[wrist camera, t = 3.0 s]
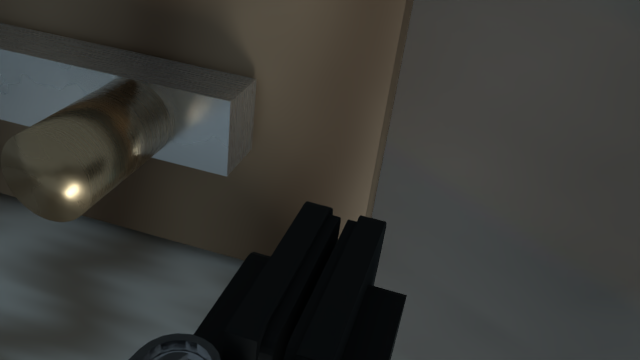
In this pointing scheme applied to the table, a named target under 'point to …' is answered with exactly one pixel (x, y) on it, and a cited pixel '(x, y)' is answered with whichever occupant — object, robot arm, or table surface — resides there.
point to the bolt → (110, 118)
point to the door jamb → (197, 185)
